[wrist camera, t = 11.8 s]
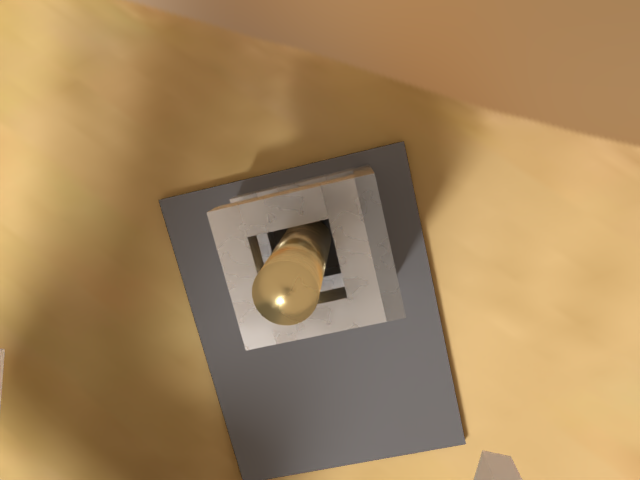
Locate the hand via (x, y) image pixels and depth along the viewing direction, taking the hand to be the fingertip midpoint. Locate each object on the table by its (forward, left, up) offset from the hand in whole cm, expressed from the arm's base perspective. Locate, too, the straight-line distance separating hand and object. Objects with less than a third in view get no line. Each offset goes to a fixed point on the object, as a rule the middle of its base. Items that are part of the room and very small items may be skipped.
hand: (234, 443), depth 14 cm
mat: (-1, -7, -27) cm, 28 cm away
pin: (0, 0, -26) cm, 26 cm away
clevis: (0, 0, -26) cm, 26 cm away
